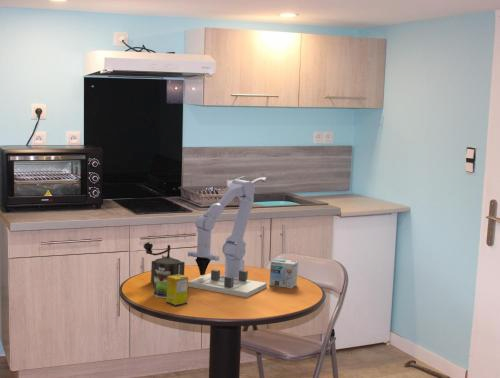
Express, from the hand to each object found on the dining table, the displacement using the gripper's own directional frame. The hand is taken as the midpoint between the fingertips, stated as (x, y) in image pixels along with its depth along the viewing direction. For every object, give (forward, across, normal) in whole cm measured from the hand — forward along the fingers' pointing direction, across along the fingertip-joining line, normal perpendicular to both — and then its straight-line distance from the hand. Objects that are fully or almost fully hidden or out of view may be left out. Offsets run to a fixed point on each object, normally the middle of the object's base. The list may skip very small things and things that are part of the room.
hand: (202, 274), depth 310 cm
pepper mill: (+4, -13, -12) cm, 18 cm away
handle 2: (+1, +16, +6) cm, 18 cm away
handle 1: (+1, +16, -6) cm, 18 cm away
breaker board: (+3, +12, 0) cm, 13 cm away
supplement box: (+4, +8, -34) cm, 35 cm away
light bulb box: (+4, +30, +18) cm, 36 cm away
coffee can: (+4, -2, -26) cm, 26 cm away
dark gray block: (+1, +6, 0) cm, 6 cm away
